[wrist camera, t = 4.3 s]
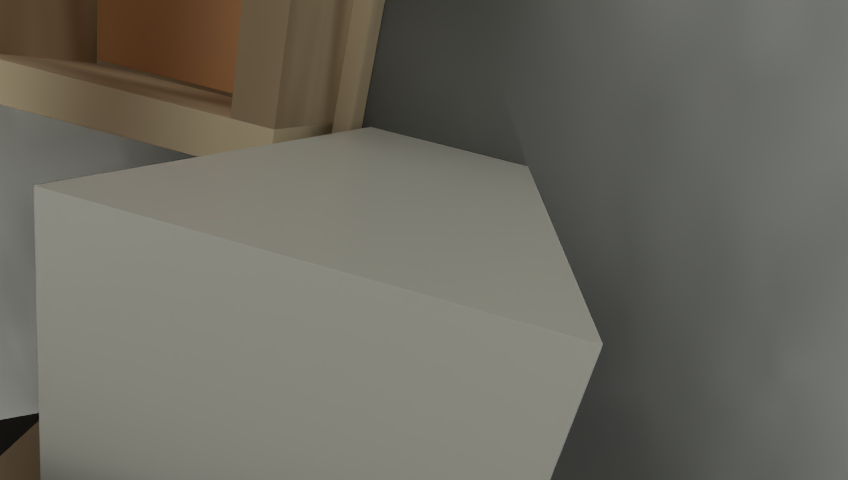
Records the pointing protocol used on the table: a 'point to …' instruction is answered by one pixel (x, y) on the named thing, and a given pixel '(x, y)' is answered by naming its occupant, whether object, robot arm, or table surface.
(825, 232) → the table surface
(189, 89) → the rack
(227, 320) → the panel
